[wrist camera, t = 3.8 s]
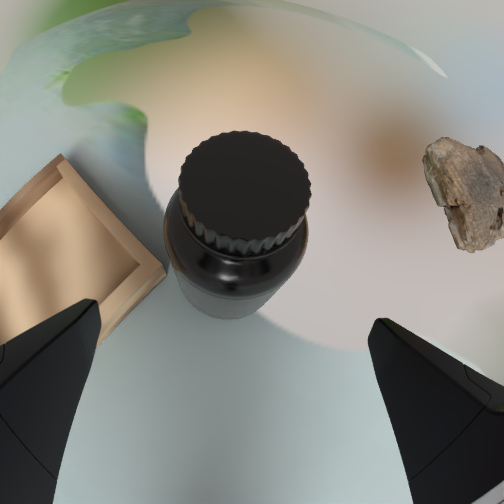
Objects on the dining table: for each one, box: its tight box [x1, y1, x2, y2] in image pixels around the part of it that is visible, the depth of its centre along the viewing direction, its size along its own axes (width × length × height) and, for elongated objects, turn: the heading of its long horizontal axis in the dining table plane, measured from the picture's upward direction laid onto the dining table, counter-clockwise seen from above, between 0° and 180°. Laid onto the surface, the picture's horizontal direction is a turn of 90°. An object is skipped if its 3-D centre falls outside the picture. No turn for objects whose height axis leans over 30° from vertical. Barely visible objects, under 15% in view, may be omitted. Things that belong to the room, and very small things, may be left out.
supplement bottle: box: [163, 131, 311, 320], centre depth 16 cm, size 7×7×12 cm
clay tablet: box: [422, 137, 504, 253], centre depth 28 cm, size 14×5×20 cm
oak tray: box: [0, 153, 167, 347], centre depth 17 cm, size 16×14×2 cm
